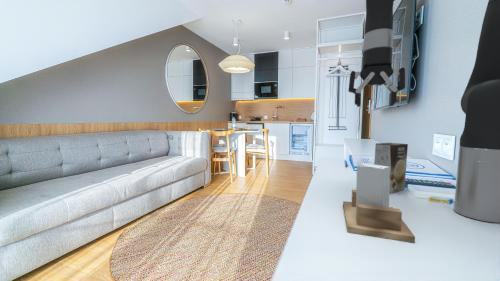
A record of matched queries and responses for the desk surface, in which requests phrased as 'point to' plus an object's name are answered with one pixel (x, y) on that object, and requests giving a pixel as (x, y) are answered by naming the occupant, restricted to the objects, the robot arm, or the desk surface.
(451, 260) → the desk surface
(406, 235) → the oak cradle board
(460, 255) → the desk surface
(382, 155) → the coffee box
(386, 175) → the skincare box
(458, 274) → the desk surface
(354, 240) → the desk surface
